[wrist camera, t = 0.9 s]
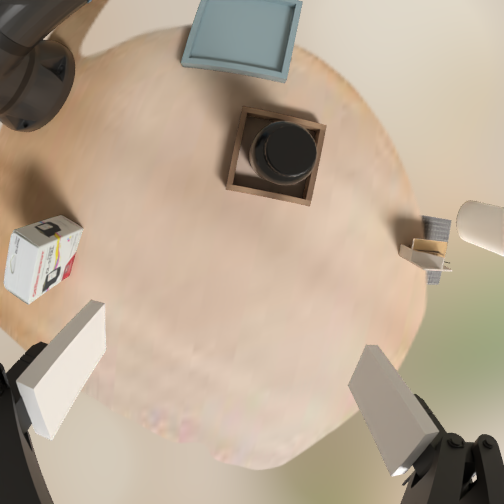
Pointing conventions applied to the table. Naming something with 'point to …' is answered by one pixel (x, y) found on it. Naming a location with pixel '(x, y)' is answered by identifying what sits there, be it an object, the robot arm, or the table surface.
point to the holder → (276, 117)
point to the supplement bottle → (283, 153)
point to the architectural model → (430, 248)
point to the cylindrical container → (482, 225)
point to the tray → (244, 37)
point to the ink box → (40, 256)
